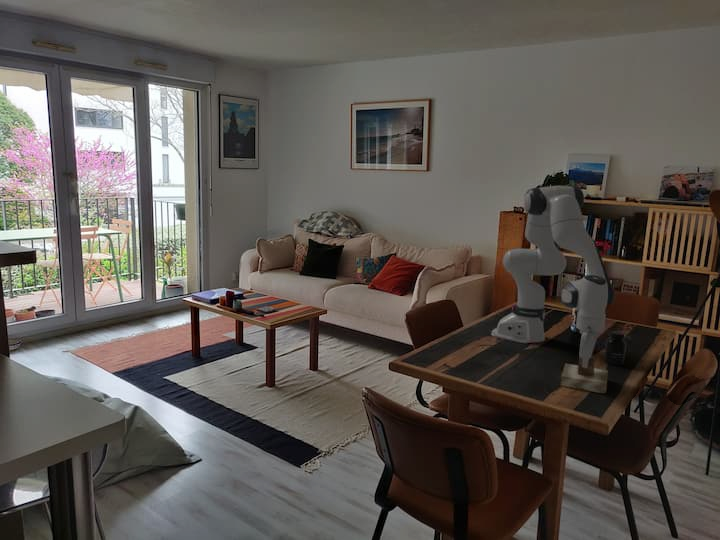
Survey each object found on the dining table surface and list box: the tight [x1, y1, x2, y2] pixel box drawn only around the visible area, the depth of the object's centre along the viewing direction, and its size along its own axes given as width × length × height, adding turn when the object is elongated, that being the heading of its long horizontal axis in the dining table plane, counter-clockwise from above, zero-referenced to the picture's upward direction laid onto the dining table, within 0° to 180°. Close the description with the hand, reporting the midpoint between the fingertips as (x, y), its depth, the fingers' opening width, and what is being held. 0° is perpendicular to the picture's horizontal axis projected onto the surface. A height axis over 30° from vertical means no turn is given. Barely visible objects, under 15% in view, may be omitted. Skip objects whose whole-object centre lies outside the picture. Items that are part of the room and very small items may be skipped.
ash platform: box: [560, 363, 609, 395], centre depth 188 cm, size 14×14×4 cm
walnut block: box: [578, 354, 596, 376], centre depth 187 cm, size 5×5×6 cm
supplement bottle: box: [603, 330, 627, 366], centre depth 208 cm, size 7×7×12 cm
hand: (586, 362), depth 187 cm, fingers open, 8 cm apart
